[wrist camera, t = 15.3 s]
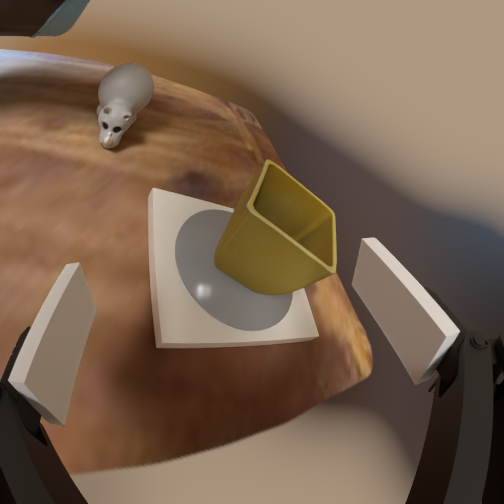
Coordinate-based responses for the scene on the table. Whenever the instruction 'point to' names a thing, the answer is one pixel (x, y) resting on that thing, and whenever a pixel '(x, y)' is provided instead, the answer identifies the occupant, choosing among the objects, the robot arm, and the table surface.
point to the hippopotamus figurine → (122, 100)
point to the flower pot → (278, 236)
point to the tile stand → (210, 284)
